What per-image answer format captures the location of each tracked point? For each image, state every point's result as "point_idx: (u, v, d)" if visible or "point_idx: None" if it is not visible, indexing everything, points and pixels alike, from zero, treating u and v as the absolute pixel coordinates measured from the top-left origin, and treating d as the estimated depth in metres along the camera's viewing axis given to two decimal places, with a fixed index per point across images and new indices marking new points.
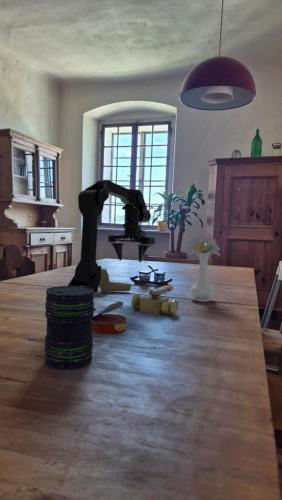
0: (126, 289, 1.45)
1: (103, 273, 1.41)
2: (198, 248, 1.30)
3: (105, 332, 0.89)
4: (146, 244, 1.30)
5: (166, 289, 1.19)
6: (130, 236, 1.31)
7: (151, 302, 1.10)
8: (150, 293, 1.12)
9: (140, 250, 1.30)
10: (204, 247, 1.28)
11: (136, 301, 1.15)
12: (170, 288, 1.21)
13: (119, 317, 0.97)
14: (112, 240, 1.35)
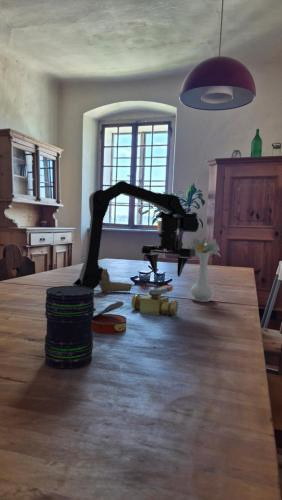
0: (127, 289, 1.45)
1: (104, 273, 1.41)
2: (198, 248, 1.30)
3: (105, 332, 0.89)
4: (186, 257, 1.16)
5: (166, 289, 1.19)
6: (168, 247, 1.17)
7: (151, 302, 1.10)
8: (150, 293, 1.12)
9: (179, 263, 1.16)
10: (204, 247, 1.28)
11: (136, 301, 1.15)
12: (170, 288, 1.21)
13: (119, 316, 0.97)
14: (147, 251, 1.21)
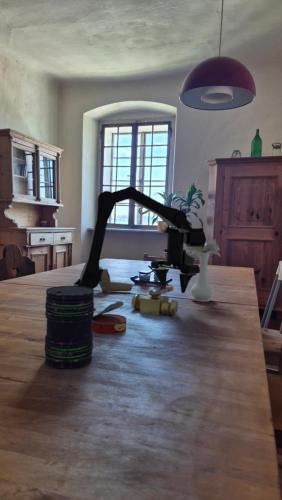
0: (127, 289, 1.45)
1: (104, 273, 1.41)
2: (198, 248, 1.30)
3: (105, 332, 0.89)
4: None
5: (166, 289, 1.18)
6: (171, 263, 1.16)
7: (151, 302, 1.10)
8: (150, 293, 1.12)
9: (181, 280, 1.13)
10: (204, 247, 1.28)
11: (136, 301, 1.15)
12: (171, 288, 1.21)
13: (119, 316, 0.97)
14: (154, 266, 1.22)
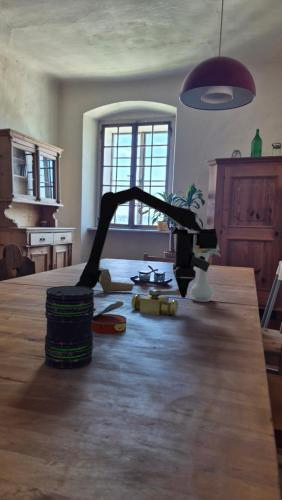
0: (128, 289, 1.45)
1: (105, 273, 1.41)
2: None
3: (105, 332, 0.89)
4: (180, 276, 1.05)
5: (174, 292, 1.14)
6: (175, 265, 1.11)
7: (151, 302, 1.10)
8: (149, 292, 1.14)
9: (177, 283, 1.07)
10: None
11: (136, 301, 1.15)
12: None
13: (119, 316, 0.97)
14: (173, 268, 1.20)
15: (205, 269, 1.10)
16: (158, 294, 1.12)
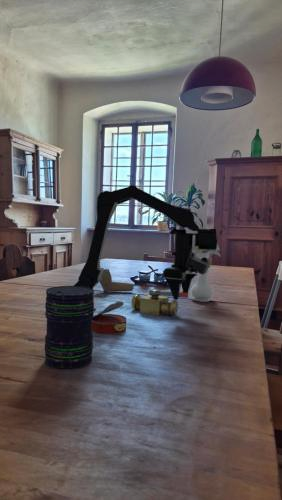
0: (129, 289, 1.45)
1: (106, 273, 1.41)
2: None
3: (105, 332, 0.89)
4: None
5: None
6: None
7: (151, 302, 1.10)
8: None
9: None
10: None
11: (136, 301, 1.15)
12: (183, 294, 1.11)
13: (119, 316, 0.97)
14: None
15: (201, 271, 1.04)
16: (156, 294, 1.12)
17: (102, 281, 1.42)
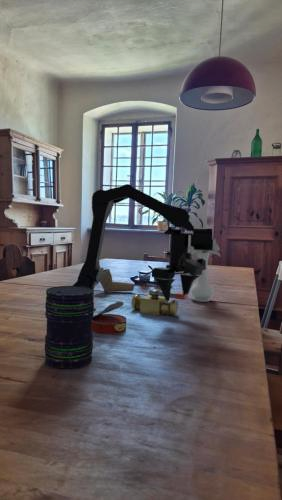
0: (129, 289, 1.45)
1: (106, 273, 1.41)
2: None
3: (105, 332, 0.89)
4: (157, 277, 1.02)
5: (171, 294, 1.10)
6: None
7: (151, 302, 1.10)
8: None
9: None
10: None
11: (136, 301, 1.15)
12: (179, 296, 1.08)
13: (119, 316, 0.97)
14: None
15: (191, 273, 1.00)
16: (154, 294, 1.12)
17: (102, 281, 1.42)
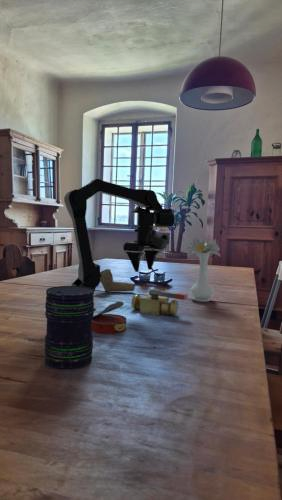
0: (130, 289, 1.45)
1: (107, 273, 1.41)
2: (198, 248, 1.30)
3: (105, 332, 0.89)
4: (128, 251, 1.14)
5: (171, 294, 1.09)
6: None
7: (151, 302, 1.10)
8: None
9: None
10: (204, 247, 1.28)
11: (136, 301, 1.15)
12: (179, 296, 1.08)
13: (119, 317, 0.97)
14: None
15: (158, 246, 1.14)
16: (154, 294, 1.12)
17: (103, 281, 1.42)
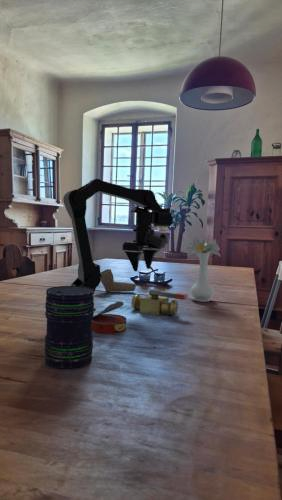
0: (131, 289, 1.45)
1: (108, 273, 1.41)
2: (198, 248, 1.30)
3: (105, 332, 0.89)
4: None
5: (171, 294, 1.09)
6: None
7: (151, 302, 1.10)
8: None
9: None
10: (204, 247, 1.28)
11: (136, 301, 1.15)
12: (179, 296, 1.08)
13: (119, 317, 0.97)
14: None
15: (157, 245, 1.15)
16: (154, 294, 1.12)
17: (104, 281, 1.42)
